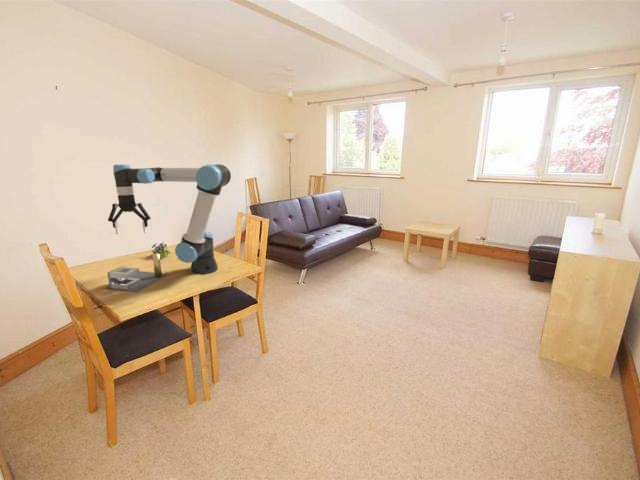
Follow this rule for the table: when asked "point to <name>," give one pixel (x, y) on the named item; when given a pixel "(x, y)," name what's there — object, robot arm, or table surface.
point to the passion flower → (160, 247)
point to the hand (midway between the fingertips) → (131, 233)
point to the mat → (142, 281)
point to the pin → (157, 265)
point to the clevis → (123, 278)
